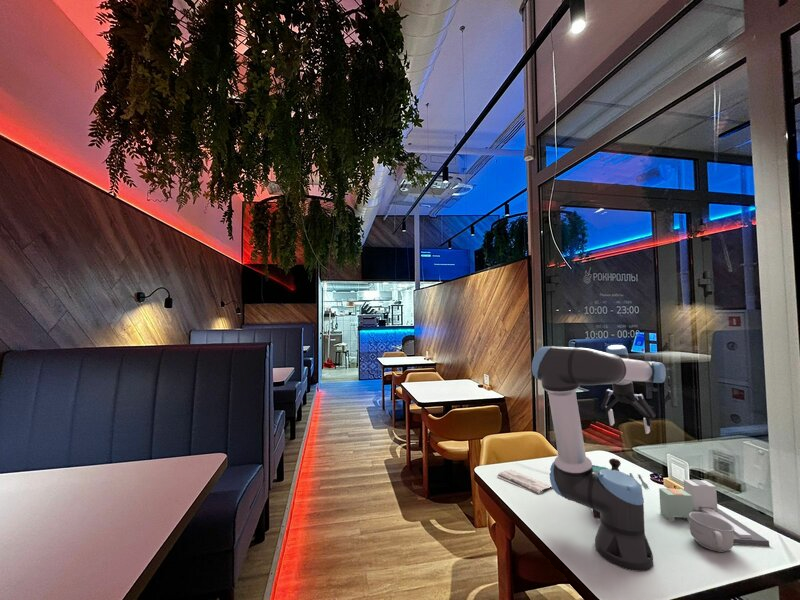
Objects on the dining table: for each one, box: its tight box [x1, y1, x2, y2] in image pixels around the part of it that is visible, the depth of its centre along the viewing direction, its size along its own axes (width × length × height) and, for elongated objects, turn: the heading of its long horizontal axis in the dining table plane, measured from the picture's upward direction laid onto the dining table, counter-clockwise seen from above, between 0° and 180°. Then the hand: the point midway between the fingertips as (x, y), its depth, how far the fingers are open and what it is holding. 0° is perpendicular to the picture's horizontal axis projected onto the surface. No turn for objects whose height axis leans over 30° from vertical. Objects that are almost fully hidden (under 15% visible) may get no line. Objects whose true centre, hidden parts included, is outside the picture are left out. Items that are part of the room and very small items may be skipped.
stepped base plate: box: [683, 479, 770, 547], centre depth 124 cm, size 12×26×11 cm, turn 174°
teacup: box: [688, 512, 734, 553], centre depth 110 cm, size 14×11×8 cm
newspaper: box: [496, 469, 553, 495], centre depth 155 cm, size 23×12×2 cm, turn 33°
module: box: [658, 487, 693, 522], centre depth 127 cm, size 8×5×9 cm, turn 84°
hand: (629, 428), depth 147 cm, fingers open, 13 cm apart
